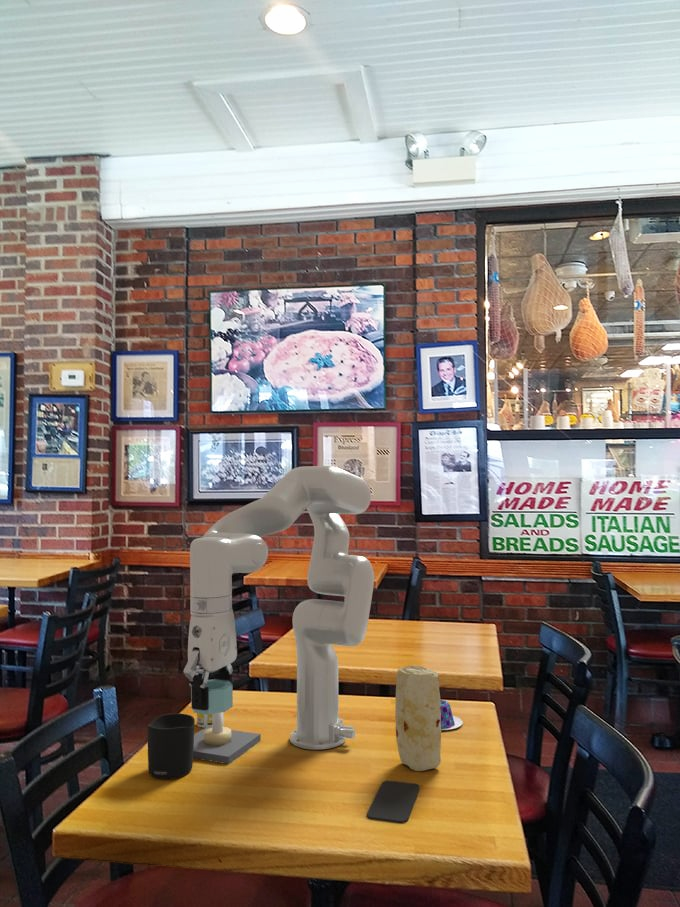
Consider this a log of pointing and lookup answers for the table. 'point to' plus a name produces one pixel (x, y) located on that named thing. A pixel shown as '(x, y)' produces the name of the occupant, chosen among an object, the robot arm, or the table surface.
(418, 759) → the food model
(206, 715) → the supplement bottle
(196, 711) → the ring
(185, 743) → the pen holder
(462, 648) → the table surface
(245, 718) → the table surface
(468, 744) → the table surface
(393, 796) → the phone
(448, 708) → the pudding
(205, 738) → the post stand
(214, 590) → the robot arm
